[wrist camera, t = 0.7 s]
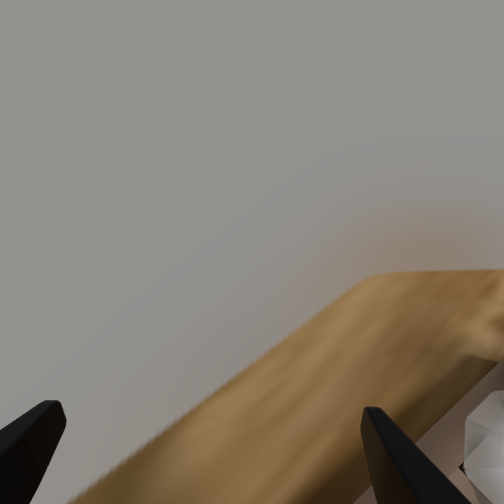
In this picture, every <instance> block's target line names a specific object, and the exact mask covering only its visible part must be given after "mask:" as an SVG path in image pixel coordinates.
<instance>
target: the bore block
mask: <svg viewBox="0 0 504 504" xmlns="http://www.w3.org/2000/svg"><path fill="white" fill-rule="evenodd" d="M415 444H416V446H417V447H418V448H419V449H420V450H421V451H422V452H423V453H424V454H425V455H426V456H427V457H428V458H429V459H430V460H431V461H432V462H433V463H434V464H435V465H436V466H437V467H438V468H439V470H440V471H441V472H442V473H443V474H444V475H445V476H446V477H447V478H448V479H449V480H450V481H451V482H452V483H453V484H454V485H455V486H456V487H457V488H458V489H459V490H460V491H461V492H462V494H463V495H464V496H465V497H466V498H467V499H468V500H469V501H470V502H471V503H472V504H504V358H503V359H502V360H501V361H500V362H499V363H498V364H497V365H496V366H495V367H494V368H493V369H492V370H491V371H490V372H489V373H488V374H486V375H485V376H484V377H483V378H482V379H481V380H480V381H479V382H478V383H477V384H476V385H475V386H474V387H473V388H472V389H471V390H470V391H469V392H468V393H467V394H466V395H465V396H464V397H463V398H462V399H461V400H460V401H458V402H457V403H456V404H455V405H454V406H453V407H452V408H451V409H450V410H449V411H448V412H447V413H446V414H445V415H444V416H443V417H442V418H441V419H440V420H439V421H438V422H437V423H436V424H435V425H434V426H433V427H432V428H430V429H429V430H428V431H427V432H426V433H425V434H424V435H423V436H422V437H421V438H420V439H419V440H418V441H417V442H416V443H415ZM353 504H377V501H376V498H375V494H374V490H373V485H371V486H370V487H369V488H368V489H367V490H366V491H365V492H364V493H363V494H362V495H361V496H360V497H359V498H358V499H357V500H356V501H355V502H354V503H353Z"/></svg>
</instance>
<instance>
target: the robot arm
mask: <svg viewBox="0 0 504 504" xmlns="http://www.w3.org/2000/svg"><path fill="white" fill-rule="evenodd" d="M65 427H66V417H65V414H64V411H63V408H62V405H61V403H60V402H59V401H58V400H45V401H43V402H41V403H39V404H38V405H36V406H35V407H33V408H32V409H31V410H29V411H28V412H26V413H25V414H23V415H22V416H20V417H19V418H17V419H16V420H14V421H13V422H11V423H10V424H8V425H7V426H5V427H4V428H3V429H1V430H0V504H29V503H30V501H31V500H32V498H33V496H34V494H35V492H36V490H37V489H38V487H39V485H40V482H41V480H42V478H43V476H44V474H45V472H46V470H47V467H48V465H49V463H50V461H51V459H52V456H53V454H54V452H55V450H56V447H57V445H58V443H59V440H60V438H61V436H62V434H63V432H64V430H65ZM360 429H361V437H362V441H363V446H364V450H365V454H366V459H367V463H368V468H369V472H370V477H371V481H372V485H373V490H374V494H375V498H376V501H377V504H472V503H471V502H470V501H469V500H468V499H467V498H466V497H465V496H464V495H463V494H462V492H461V491H460V490H459V489H458V488H457V487H456V486H455V485H454V484H453V483H452V482H451V481H450V480H449V479H448V478H447V477H446V476H445V475H444V474H443V473H442V472H441V471H440V470H439V468H438V467H437V466H436V465H435V464H434V463H433V462H432V461H431V460H430V459H429V458H428V457H427V456H426V455H425V454H424V453H423V452H422V451H421V450H420V449H419V448H418V447H417V446H416V444H415V443H414V442H413V441H412V440H411V439H410V438H409V437H408V436H407V435H406V434H405V433H404V432H403V431H402V430H401V429H400V428H399V427H398V426H397V425H396V424H395V423H394V422H393V420H392V419H391V418H390V417H389V416H388V415H387V414H386V413H385V412H384V411H383V410H382V409H381V408H379V407H365V408H364V410H363V416H362V421H361V428H360Z"/></svg>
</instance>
